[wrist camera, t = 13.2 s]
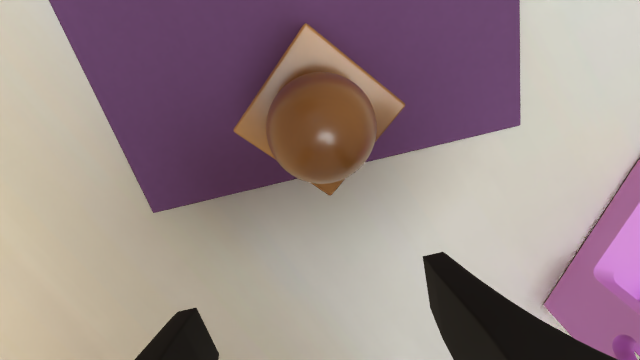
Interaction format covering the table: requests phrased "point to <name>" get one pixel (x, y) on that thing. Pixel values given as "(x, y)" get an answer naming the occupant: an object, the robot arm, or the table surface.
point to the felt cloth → (259, 61)
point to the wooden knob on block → (318, 112)
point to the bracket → (606, 280)
